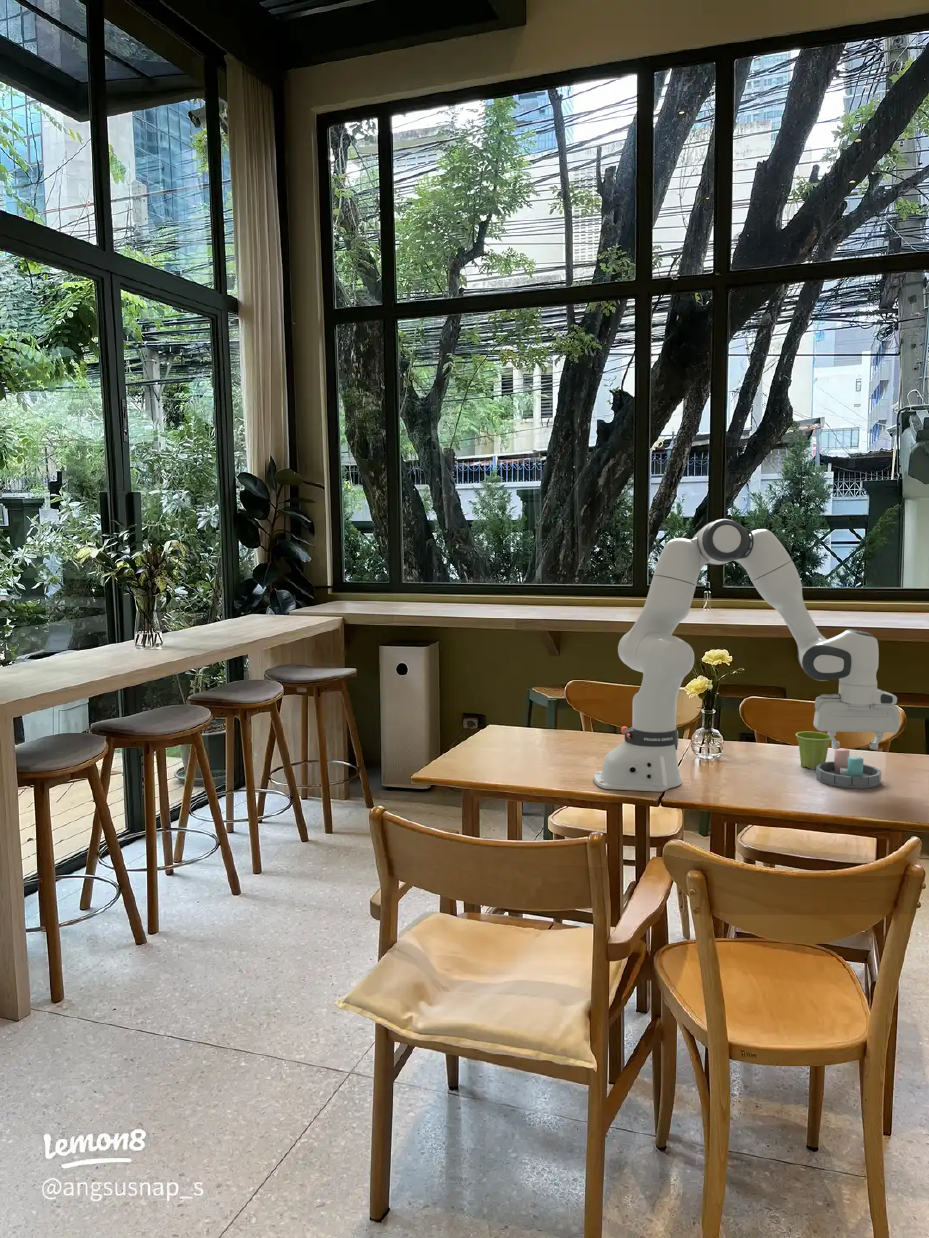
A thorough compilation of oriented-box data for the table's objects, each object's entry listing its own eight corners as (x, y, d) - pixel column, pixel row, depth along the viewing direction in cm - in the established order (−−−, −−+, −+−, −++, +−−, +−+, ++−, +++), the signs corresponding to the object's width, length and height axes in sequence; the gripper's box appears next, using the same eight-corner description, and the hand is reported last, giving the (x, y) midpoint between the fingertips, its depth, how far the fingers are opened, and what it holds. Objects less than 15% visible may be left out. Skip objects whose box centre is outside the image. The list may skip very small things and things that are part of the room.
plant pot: (826, 762, 253) (827, 731, 252) (835, 771, 244) (836, 739, 243) (791, 761, 255) (792, 731, 254) (799, 770, 245) (799, 738, 244)
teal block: (850, 783, 229) (851, 760, 228) (844, 779, 233) (845, 756, 232) (864, 783, 229) (865, 760, 228) (859, 779, 232) (860, 756, 232)
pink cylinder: (837, 774, 238) (837, 751, 237) (831, 770, 241) (832, 748, 241) (851, 773, 238) (851, 751, 237) (845, 770, 241) (846, 748, 241)
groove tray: (829, 789, 228) (829, 777, 228) (807, 772, 243) (808, 761, 243) (890, 788, 227) (891, 777, 227) (865, 772, 243) (865, 761, 242)
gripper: (819, 696, 225) (817, 751, 227) (903, 697, 225) (900, 752, 226) (811, 691, 231) (808, 745, 233) (892, 693, 231) (889, 746, 232)
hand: (854, 748), depth 229 cm, fingers open, 8 cm apart
